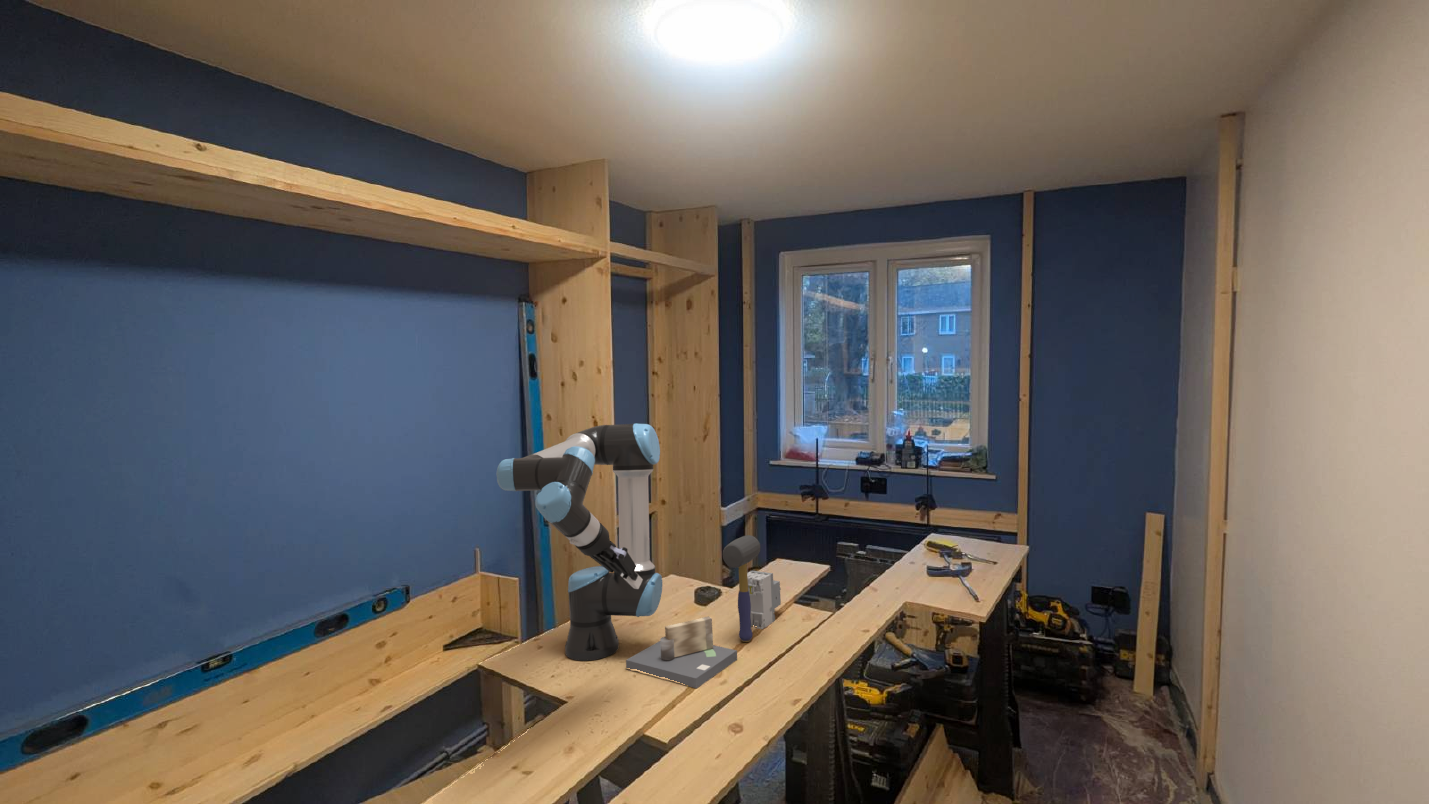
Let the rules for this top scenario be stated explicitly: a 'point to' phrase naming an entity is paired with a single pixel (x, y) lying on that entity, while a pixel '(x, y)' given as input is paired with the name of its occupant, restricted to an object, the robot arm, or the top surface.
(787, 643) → the top surface
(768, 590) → the circuit breaker
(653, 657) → the board
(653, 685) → the top surface
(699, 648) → the wooden block
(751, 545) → the rubber mallet
